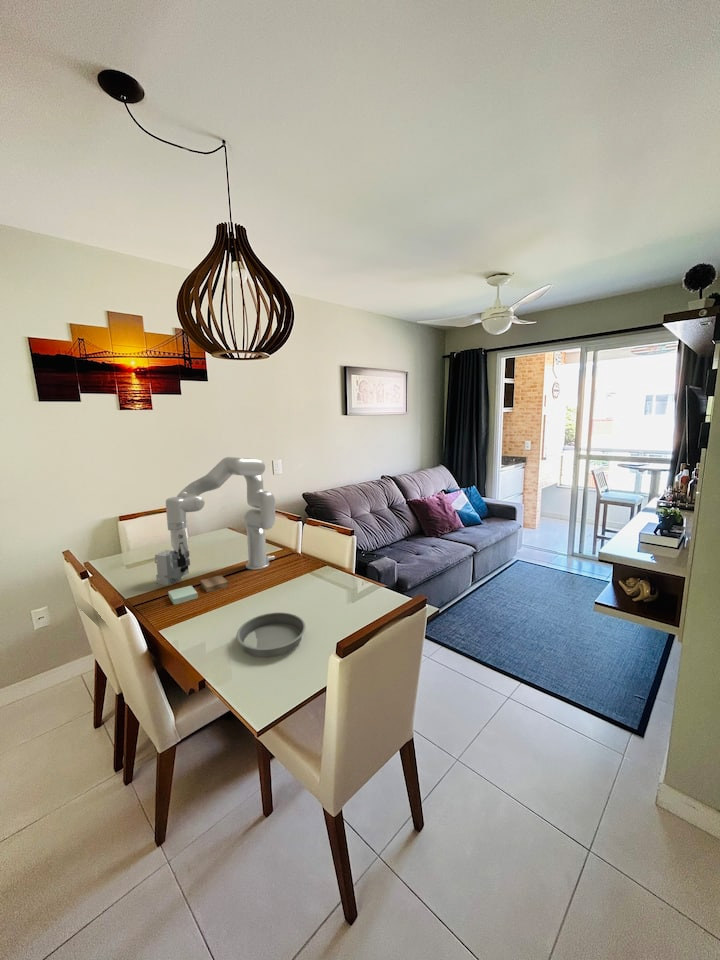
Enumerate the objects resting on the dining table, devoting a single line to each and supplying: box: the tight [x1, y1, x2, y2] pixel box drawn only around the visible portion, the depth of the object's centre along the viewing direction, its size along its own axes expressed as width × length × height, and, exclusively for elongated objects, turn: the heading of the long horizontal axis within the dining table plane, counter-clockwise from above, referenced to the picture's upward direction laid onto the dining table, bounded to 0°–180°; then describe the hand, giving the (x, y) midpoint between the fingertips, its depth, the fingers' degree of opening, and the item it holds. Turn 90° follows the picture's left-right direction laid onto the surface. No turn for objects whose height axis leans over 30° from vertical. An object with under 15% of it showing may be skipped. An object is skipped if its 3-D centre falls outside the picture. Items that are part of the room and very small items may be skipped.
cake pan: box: [236, 612, 306, 659], centre depth 140 cm, size 25×25×4 cm
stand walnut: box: [200, 574, 229, 593], centre depth 184 cm, size 10×10×2 cm
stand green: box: [168, 585, 199, 605], centre depth 172 cm, size 10×10×2 cm
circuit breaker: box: [154, 549, 190, 586], centre depth 187 cm, size 8×14×15 cm, turn 78°
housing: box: [169, 549, 191, 569], centre depth 169 cm, size 7×5×7 cm
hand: (180, 563), depth 170 cm, fingers closed on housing, 5 cm apart
